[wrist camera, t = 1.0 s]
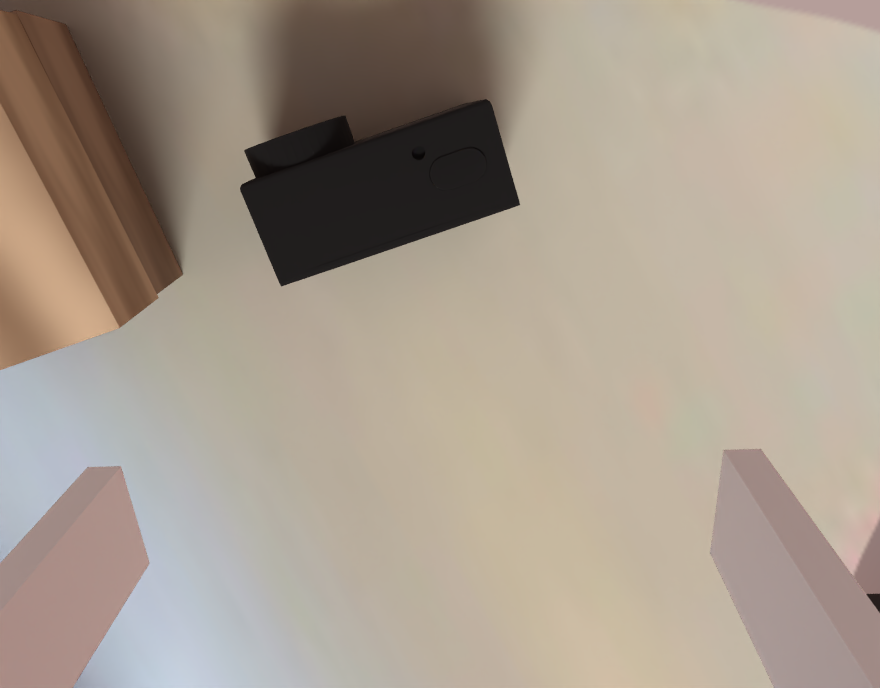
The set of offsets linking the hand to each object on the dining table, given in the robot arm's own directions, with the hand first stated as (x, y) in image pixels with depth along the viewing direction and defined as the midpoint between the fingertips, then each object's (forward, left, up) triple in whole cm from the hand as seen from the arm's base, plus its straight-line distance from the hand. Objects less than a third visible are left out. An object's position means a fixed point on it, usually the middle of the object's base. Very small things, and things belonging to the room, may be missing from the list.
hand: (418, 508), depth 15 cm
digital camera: (+1, +6, -21) cm, 22 cm away
